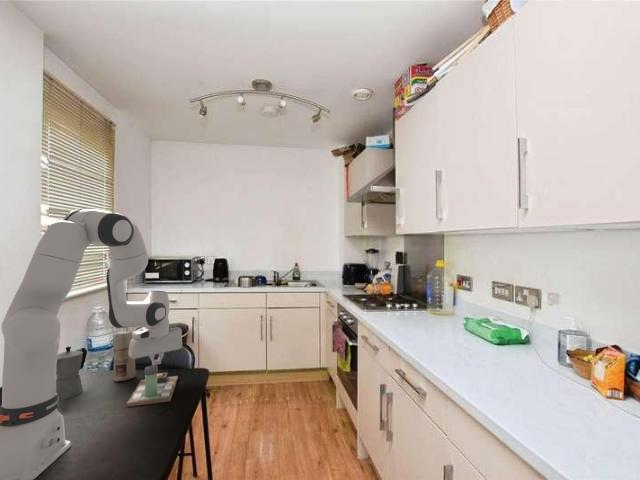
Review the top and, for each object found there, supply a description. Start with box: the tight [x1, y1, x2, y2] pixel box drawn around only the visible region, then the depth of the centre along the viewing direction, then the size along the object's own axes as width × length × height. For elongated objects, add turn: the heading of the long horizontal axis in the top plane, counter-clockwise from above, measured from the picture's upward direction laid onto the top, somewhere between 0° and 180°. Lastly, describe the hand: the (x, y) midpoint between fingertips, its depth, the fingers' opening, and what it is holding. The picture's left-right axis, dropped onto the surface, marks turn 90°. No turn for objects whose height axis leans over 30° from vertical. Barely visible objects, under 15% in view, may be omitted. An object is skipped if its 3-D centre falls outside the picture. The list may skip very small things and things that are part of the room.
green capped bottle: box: [144, 364, 159, 397], centre depth 122 cm, size 4×4×10 cm
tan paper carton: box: [112, 330, 137, 382], centre depth 143 cm, size 8×8×20 cm
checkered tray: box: [126, 372, 179, 407], centre depth 129 cm, size 22×14×3 cm, turn 17°
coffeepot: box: [56, 346, 88, 400], centre depth 129 cm, size 15×9×18 cm, turn 174°
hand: (156, 364), depth 136 cm, fingers closed
